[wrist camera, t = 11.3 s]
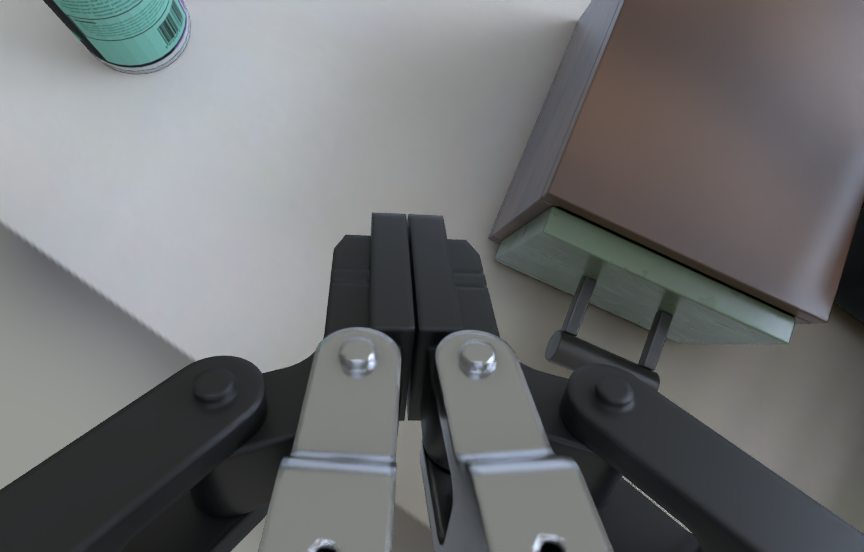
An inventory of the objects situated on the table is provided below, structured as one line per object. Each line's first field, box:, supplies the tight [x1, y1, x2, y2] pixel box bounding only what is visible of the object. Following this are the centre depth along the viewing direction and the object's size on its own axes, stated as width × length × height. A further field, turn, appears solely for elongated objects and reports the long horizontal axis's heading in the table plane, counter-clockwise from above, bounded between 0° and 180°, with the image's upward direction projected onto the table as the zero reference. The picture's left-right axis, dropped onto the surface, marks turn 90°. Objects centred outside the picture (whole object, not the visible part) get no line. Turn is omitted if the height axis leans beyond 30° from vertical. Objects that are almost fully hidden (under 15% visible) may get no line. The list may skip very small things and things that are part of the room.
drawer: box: [495, 206, 796, 391], centre depth 27 cm, size 18×11×8 cm, turn 157°
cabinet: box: [488, 0, 864, 324], centre depth 27 cm, size 15×13×10 cm
